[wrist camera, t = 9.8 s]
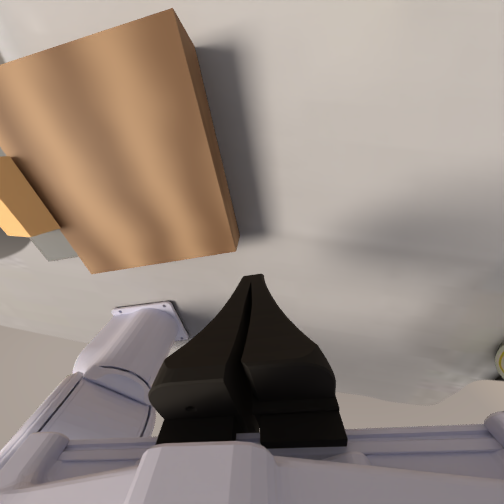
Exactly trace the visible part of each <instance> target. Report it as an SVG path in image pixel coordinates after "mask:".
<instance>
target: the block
mask: <svg viewBox="0 0 504 504" xmlns="http://www.w3.org/2000/svg"><path fill="white" fill-rule="evenodd" d="M0 227H1V228H2V229H3V230H4V231H5V232H6V234H7V235H9V236H23V237H33V236H37V235H40V234H43V233H46V232H50V231H53V230H56V229H60V226H59V225H58V223H57V222H56V221H55V219H54V218H53V216H52V215H51V214H50V212H49V211H48V209H47V208H46V207H45V205H44V204H43V202H42V201H41V199H40V198H39V197H38V195H37V194H36V192H35V191H34V190H33V188H32V187H31V185H30V184H29V183H28V181H27V180H26V178H25V177H24V176H23V174H22V173H21V171H20V170H19V169H18V167H17V166H16V164H15V163H14V162H13V160H12V159H11V157H10V156H2V157H0Z"/></svg>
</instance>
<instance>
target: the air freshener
mask: <svg viewBox="0 0 504 504" xmlns="http://www.w3.org/2000/svg"><path fill="white" fill-rule="evenodd" d="M495 365H496V368H497V371H498V372H499V374H500V375H501V376H502V377H503V378H504V342H503V343H502V344H501V345H500V348H499V350H498V351H497V353H496V356H495Z"/></svg>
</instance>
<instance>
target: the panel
mask: <svg viewBox="0 0 504 504" xmlns="http://www.w3.org/2000/svg"><path fill="white" fill-rule="evenodd" d="M0 147H1V149H2V150H3V151H4V153H5V154H6V156H10V157H11V159H12V160H13V162H14V163H15V164H16V166H17V167H18V169H19V170H20V171H21V173H22V174H23V176H24V177H25V178H26V180H27V181H28V183H29V184H30V185H31V187H32V188H33V190H34V191H35V192H36V194H37V195H38V197H39V198H40V199H41V201H42V202H43V204H44V205H45V207H46V208H47V209H48V211H49V212H50V214H51V215H52V216H53V218H54V219H55V221H56V222H57V223H58V225H59V226H60V231H61V232H62V234H63V235H64V236H65V238H66V239H67V241H68V242H69V243H70V245H71V246H72V248H73V249H74V250H75V252H76V253H77V255H78V256H79V257H80V259H81V260H82V261H83V263H84V264H85V266H86V267H87V268H88V270H89V271H90V273H91V274H96V273H102V272H108V271H115V270H121V269H127V268H134V267H140V266H146V265H153V264H159V263H165V262H172V261H178V260H184V259H191V258H197V257H203V256H210V255H216V254H222V253H229V252H235V251H236V249H237V245H238V241H239V237H240V235H239V230H238V226H237V222H236V218H235V214H234V210H233V205H232V201H231V197H230V193H229V189H228V184H227V180H226V176H225V172H224V168H223V163H222V159H221V155H220V151H219V147H218V143H217V138H216V134H215V130H214V126H213V122H212V117H211V113H210V109H209V105H208V101H207V96H206V92H205V88H204V84H203V80H202V76H201V71H200V67H199V63H198V59H197V55H196V50H195V46H194V45H193V43H192V41H191V39H190V38H189V36H188V34H187V32H186V31H185V29H184V27H183V25H182V23H181V22H180V20H179V18H178V16H177V15H176V13H175V11H174V9H173V8H171V9H168V10H165V11H162V12H159V13H156V14H153V15H150V16H147V17H144V18H141V19H138V20H135V21H132V22H129V23H126V24H123V25H120V26H117V27H114V28H111V29H108V30H104V31H101V32H98V33H95V34H92V35H89V36H86V37H83V38H80V39H77V40H74V41H71V42H68V43H65V44H62V45H59V46H56V47H53V48H50V49H47V50H44V51H41V52H38V53H35V54H32V55H29V56H26V57H23V58H20V59H17V60H14V61H11V62H8V63H5V64H2V65H0Z"/></svg>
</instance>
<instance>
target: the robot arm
mask: <svg viewBox="0 0 504 504" xmlns="http://www.w3.org/2000/svg"><path fill="white" fill-rule="evenodd" d="M165 305H166V306H165ZM111 312H112V314H113V315H114V316H113V317H112V318H111V319H110V320H109V321H108V323H107V324H106V325H105V326H104V327H103V328H102V329H101V330H100V331H99V332H98V333H97V334H96V336H95V337H94V338H93V339H92V340H91V341H90V342H89V343H88V344H87V345H86V346H85V348H84V349H83V350H82V351H81V353H80V354H79V355H78V357H77V359H76V361H75V364H74V367H73V374H71V375H68V376H66V378H65V379H64V380H63V381H62V382H61V383H60V384H59V385H58V386H57V387H56V388H55V389H54V390H53V392H52V393H51V394H50V395H49V396H48V397H47V398H46V399H45V400H44V402H43V403H42V404H41V405H40V406H39V407H38V408H37V409H36V411H35V412H34V413H33V414H32V415H31V416H30V417H29V418H28V420H27V421H26V422H25V423H24V424H23V425H22V426H21V428H20V429H19V430H18V431H17V432H16V433H15V434H14V436H13V437H12V438H11V439H10V440H9V441H8V442H7V444H6V445H5V446H4V447H3V448H2V450H1V451H0V504H504V411H501V412H496V413H493V414H490V415H489V416H488V417H487V418H486V419H485V421H484V424H471V425H446V426H418V427H393V428H366V429H344V426H343V422H342V419H341V416H340V414H339V406H338V402H337V399H336V396H335V388H336V380H335V376H334V373H333V371H332V369H331V367H330V365H329V363H328V361H327V359H326V358H325V356H324V354H323V353H322V351H321V350H320V348H319V347H318V345H317V344H315V343H314V342H313V341H312V340H310V339H309V338H308V337H307V336H306V335H305V334H303V333H302V332H301V331H300V330H299V329H298V328H297V327H296V326H295V325H294V324H293V323H292V322H291V321H290V320H289V319H288V318H287V316H286V315H285V314H284V313H283V312H282V310H281V309H280V308H279V306H278V305H277V304H276V302H275V300H274V299H273V297H272V296H271V294H270V292H269V290H268V288H267V286H266V284H265V280H264V275H263V274H256V275H249V276H243V278H242V279H241V281H240V283H239V285H238V286H237V288H236V290H235V291H234V293H233V294H232V296H231V297H230V299H229V300H228V302H227V303H226V304H225V306H224V307H223V308H222V310H221V311H220V312H219V313H218V314H217V316H216V317H215V318H214V319H213V320H212V321H211V322H210V323H209V324H208V325H207V326H206V327H205V328H204V329H203V330H202V331H201V332H200V333H198V334H197V335H196V336H195V337H194V338H193V339H191V340H190V341H189V342H188V343H186V344H185V345H184V346H183V347H181V348H180V349H178V350H177V351H176V352H174V353H173V354H171V355H170V356H169V357H167V356H168V353H169V351H170V349H171V347H172V345H173V343H174V341H179V340H187V339H188V337H189V336H188V334H187V332H186V330H185V328H184V326H183V324H182V322H181V320H180V319H179V317H178V315H177V313H176V311H175V309H174V307H173V305H172V303H171V302H169V301H167V302H159V303H152V304H144V305H136V306H129V307H121V308H114V309H113V310H112V311H111ZM156 410H157V412H158V413H159V414H160V415H161V416H162V417H163V418H164V422H163V425H162V427H161V430H160V433H159V436H158V437H151V434H152V431H153V428H154V424H155V419H156V414H155V411H156ZM259 428H260V432H259Z"/></svg>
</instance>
